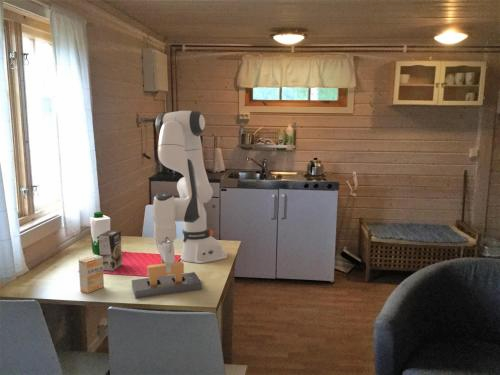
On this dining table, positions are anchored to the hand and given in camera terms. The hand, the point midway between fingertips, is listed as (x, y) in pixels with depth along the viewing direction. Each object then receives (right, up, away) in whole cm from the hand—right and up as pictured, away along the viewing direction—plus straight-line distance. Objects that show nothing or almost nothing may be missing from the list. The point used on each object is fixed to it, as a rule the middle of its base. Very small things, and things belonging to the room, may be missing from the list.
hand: (166, 267), depth 184 cm
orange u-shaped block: (0, -8, +1) cm, 9 cm away
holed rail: (0, -8, +1) cm, 9 cm away
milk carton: (-40, -1, +46) cm, 61 cm away
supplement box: (-29, -9, 0) cm, 31 cm away
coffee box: (-29, -4, +25) cm, 39 cm away
